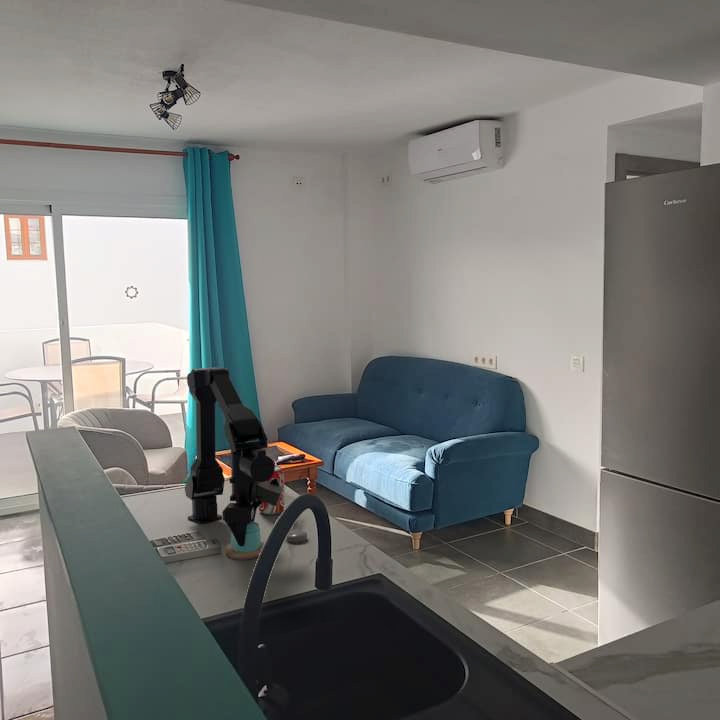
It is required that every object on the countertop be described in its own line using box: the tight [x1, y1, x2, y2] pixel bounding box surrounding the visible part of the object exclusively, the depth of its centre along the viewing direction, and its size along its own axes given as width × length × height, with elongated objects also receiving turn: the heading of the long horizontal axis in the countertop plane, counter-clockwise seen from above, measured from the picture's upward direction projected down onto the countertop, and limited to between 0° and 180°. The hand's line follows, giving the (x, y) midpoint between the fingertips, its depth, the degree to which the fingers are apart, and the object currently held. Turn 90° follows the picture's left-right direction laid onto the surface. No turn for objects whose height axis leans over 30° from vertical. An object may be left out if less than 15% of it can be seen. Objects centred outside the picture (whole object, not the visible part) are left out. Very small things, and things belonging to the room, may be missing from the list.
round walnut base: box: [225, 540, 265, 561], centre depth 163 cm, size 9×9×2 cm
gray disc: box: [285, 530, 308, 544], centre depth 171 cm, size 5×5×2 cm
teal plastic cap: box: [230, 521, 262, 552], centre depth 163 cm, size 6×6×5 cm
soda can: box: [258, 464, 285, 516], centre depth 191 cm, size 7×7×12 cm
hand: (245, 538), depth 163 cm, fingers open, 9 cm apart
